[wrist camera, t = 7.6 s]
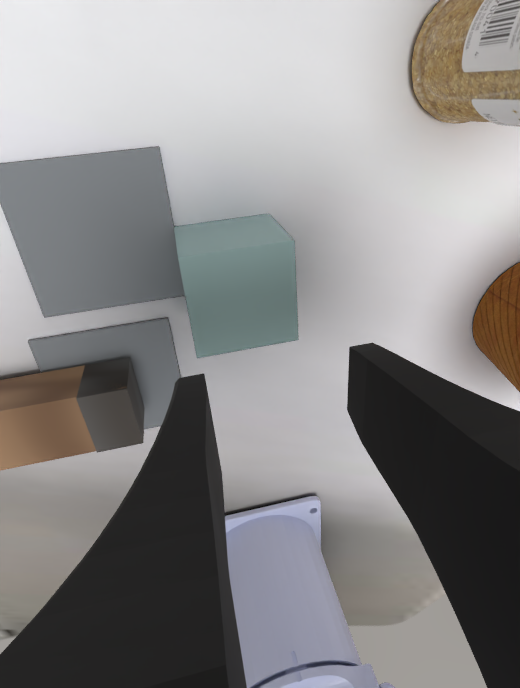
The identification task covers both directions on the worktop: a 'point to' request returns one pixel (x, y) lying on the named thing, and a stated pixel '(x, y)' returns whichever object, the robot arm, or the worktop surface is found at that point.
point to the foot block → (238, 283)
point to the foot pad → (117, 343)
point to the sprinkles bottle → (470, 62)
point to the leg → (69, 413)
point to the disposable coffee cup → (501, 324)
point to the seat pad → (93, 229)
